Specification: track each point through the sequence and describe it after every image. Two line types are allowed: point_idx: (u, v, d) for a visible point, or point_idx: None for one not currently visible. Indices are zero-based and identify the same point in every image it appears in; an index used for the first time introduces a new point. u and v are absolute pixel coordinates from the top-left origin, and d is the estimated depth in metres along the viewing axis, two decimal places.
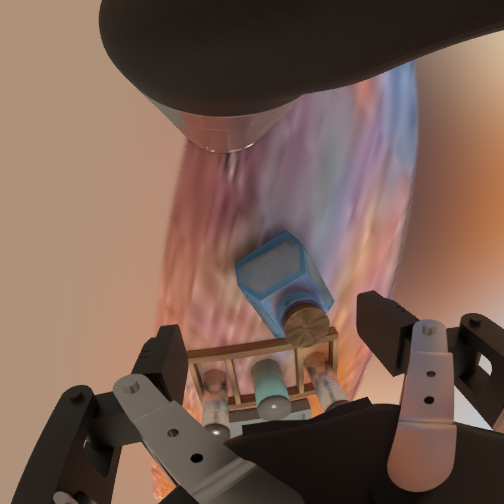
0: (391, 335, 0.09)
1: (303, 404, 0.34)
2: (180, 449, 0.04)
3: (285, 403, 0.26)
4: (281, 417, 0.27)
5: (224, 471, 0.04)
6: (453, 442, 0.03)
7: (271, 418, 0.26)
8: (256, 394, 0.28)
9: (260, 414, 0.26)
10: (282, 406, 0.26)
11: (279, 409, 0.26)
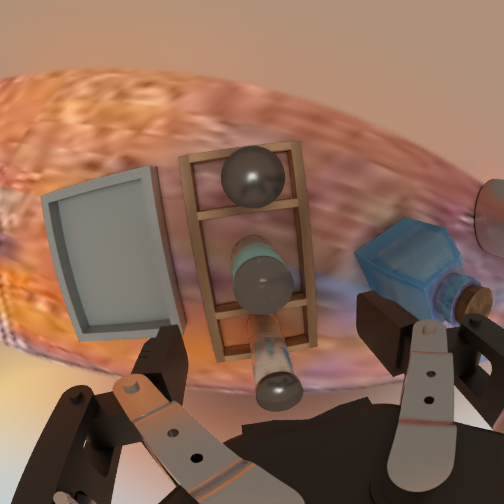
0: (391, 335, 0.09)
1: (183, 320, 0.23)
2: (180, 449, 0.04)
3: (281, 303, 0.17)
4: (243, 300, 0.17)
5: (224, 471, 0.04)
6: (453, 443, 0.03)
7: (243, 283, 0.16)
8: (267, 249, 0.18)
9: (258, 262, 0.16)
10: (274, 299, 0.17)
11: (267, 294, 0.17)
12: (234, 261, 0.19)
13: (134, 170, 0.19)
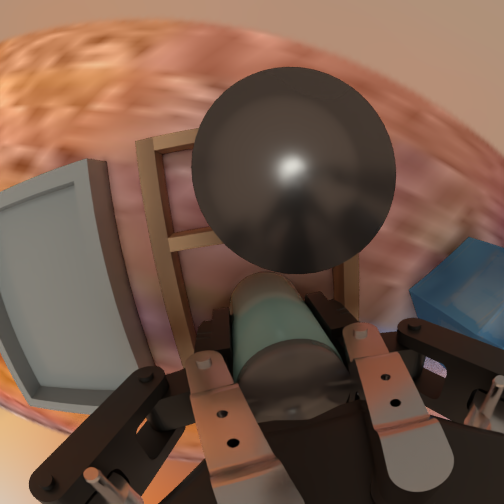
0: None
1: None
2: (222, 431, 0.05)
3: None
4: None
5: (224, 471, 0.04)
6: (440, 434, 0.03)
7: (256, 396, 0.07)
8: (299, 315, 0.09)
9: (288, 361, 0.07)
10: (314, 413, 0.08)
11: (301, 409, 0.08)
12: (235, 331, 0.10)
13: (64, 168, 0.10)
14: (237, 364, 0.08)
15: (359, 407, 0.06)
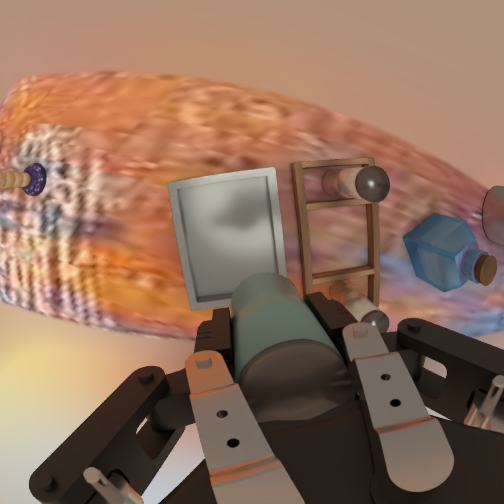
0: None
1: None
2: (222, 431, 0.05)
3: None
4: (256, 420, 0.08)
5: (224, 471, 0.04)
6: (439, 434, 0.03)
7: (257, 396, 0.07)
8: (300, 315, 0.09)
9: (290, 361, 0.07)
10: (315, 413, 0.08)
11: (303, 409, 0.08)
12: (236, 332, 0.10)
13: (262, 169, 0.27)
14: (238, 364, 0.08)
15: (359, 407, 0.06)
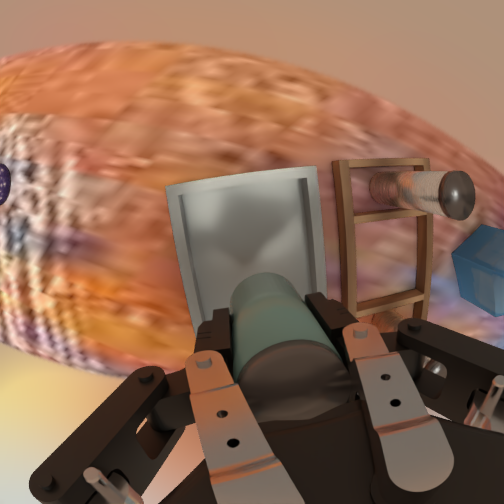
0: None
1: None
2: (222, 431, 0.05)
3: None
4: None
5: (224, 471, 0.04)
6: (439, 434, 0.03)
7: (256, 397, 0.07)
8: (299, 316, 0.09)
9: (288, 362, 0.07)
10: (314, 414, 0.08)
11: (301, 410, 0.08)
12: (235, 332, 0.10)
13: (299, 168, 0.19)
14: (237, 365, 0.08)
15: (359, 407, 0.06)
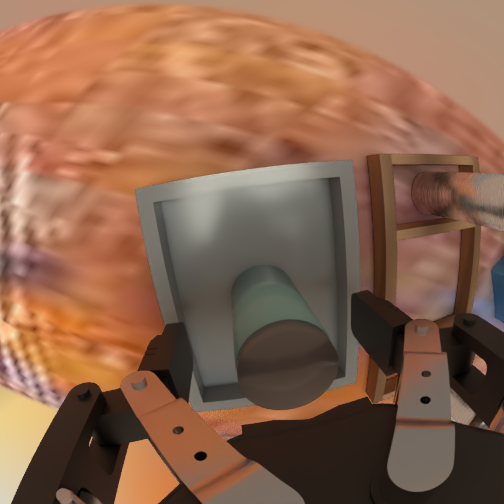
0: (384, 334, 0.09)
1: None
2: (184, 446, 0.04)
3: (317, 392, 0.09)
4: (253, 393, 0.09)
5: (224, 471, 0.04)
6: (451, 441, 0.03)
7: (254, 370, 0.09)
8: (292, 301, 0.11)
9: (282, 337, 0.08)
10: (306, 388, 0.09)
11: (294, 383, 0.09)
12: (236, 316, 0.12)
13: (330, 163, 0.13)
14: (237, 343, 0.10)
15: (359, 407, 0.06)
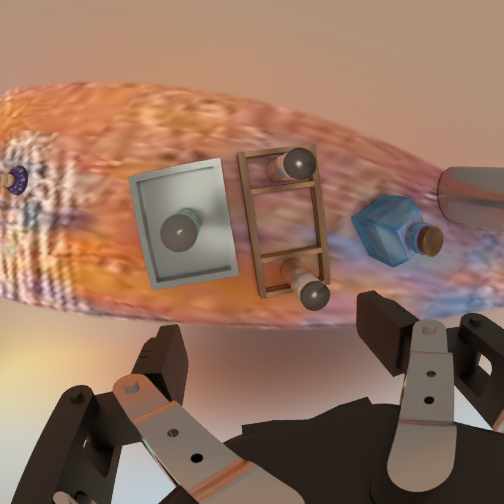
0: (391, 335, 0.09)
1: None
2: (180, 449, 0.04)
3: (190, 243, 0.26)
4: (166, 242, 0.26)
5: (224, 471, 0.04)
6: (453, 442, 0.03)
7: (165, 231, 0.25)
8: (185, 212, 0.28)
9: (173, 217, 0.25)
10: (185, 241, 0.26)
11: (180, 238, 0.26)
12: None
13: (209, 160, 0.30)
14: None
15: (359, 407, 0.06)
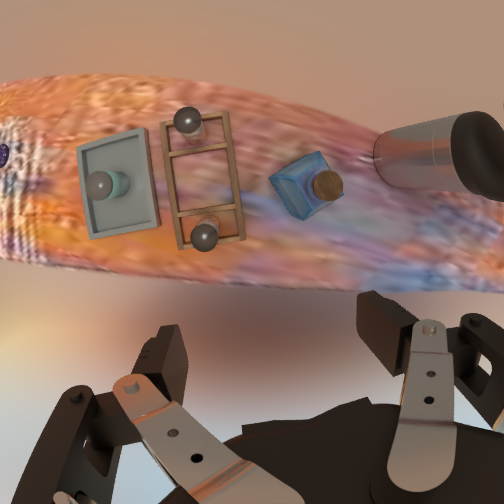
0: (391, 335, 0.09)
1: (158, 220, 0.37)
2: (180, 449, 0.04)
3: (106, 193, 0.29)
4: (89, 193, 0.29)
5: (224, 471, 0.04)
6: (453, 442, 0.03)
7: (88, 184, 0.28)
8: (108, 171, 0.30)
9: (94, 173, 0.28)
10: (102, 191, 0.29)
11: (99, 189, 0.29)
12: None
13: (135, 130, 0.33)
14: None
15: (359, 407, 0.06)
